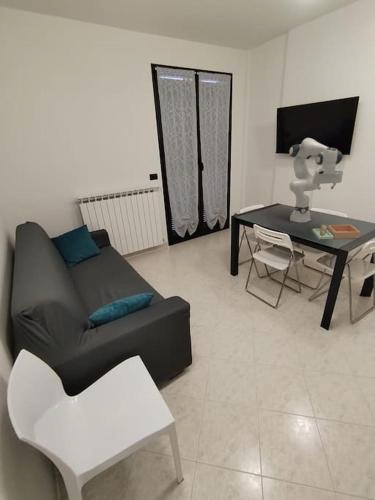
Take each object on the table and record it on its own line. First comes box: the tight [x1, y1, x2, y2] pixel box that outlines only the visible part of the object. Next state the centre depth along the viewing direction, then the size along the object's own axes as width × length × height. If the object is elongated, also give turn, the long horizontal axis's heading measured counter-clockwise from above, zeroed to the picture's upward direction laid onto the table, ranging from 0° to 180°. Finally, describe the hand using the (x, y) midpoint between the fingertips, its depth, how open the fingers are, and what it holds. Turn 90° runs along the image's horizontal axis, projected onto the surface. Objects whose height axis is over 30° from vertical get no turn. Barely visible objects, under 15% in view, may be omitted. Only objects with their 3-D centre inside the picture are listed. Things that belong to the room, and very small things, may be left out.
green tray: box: [312, 228, 334, 241], centre depth 195 cm, size 18×10×3 cm, turn 170°
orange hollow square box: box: [326, 224, 361, 240], centre depth 191 cm, size 17×17×6 cm
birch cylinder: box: [319, 224, 328, 236], centre depth 193 cm, size 4×4×8 cm
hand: (325, 189), depth 190 cm, fingers open, 8 cm apart
